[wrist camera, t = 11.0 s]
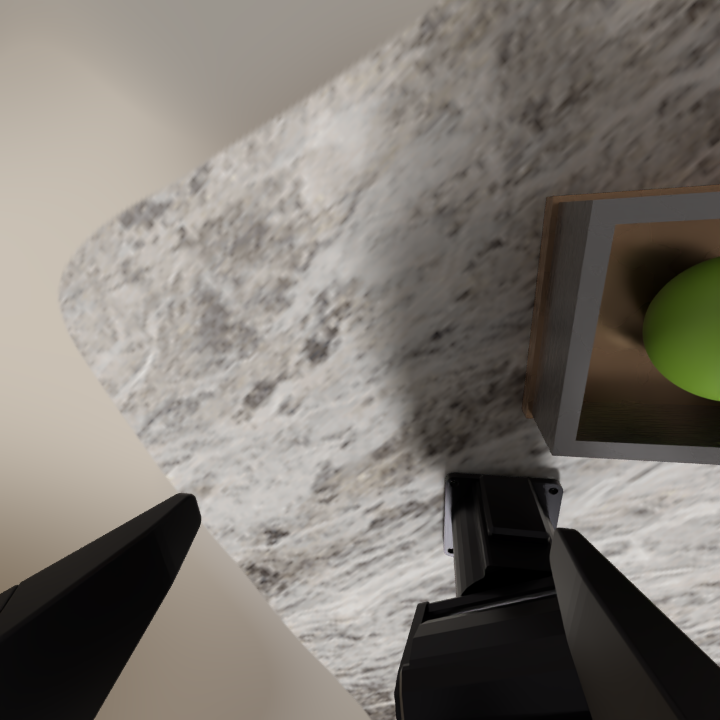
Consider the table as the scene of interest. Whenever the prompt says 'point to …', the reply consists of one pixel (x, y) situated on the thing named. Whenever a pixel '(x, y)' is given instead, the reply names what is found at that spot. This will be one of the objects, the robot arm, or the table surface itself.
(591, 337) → the grey planter box
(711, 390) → the snail figurine
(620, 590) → the robot arm
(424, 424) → the table surface
